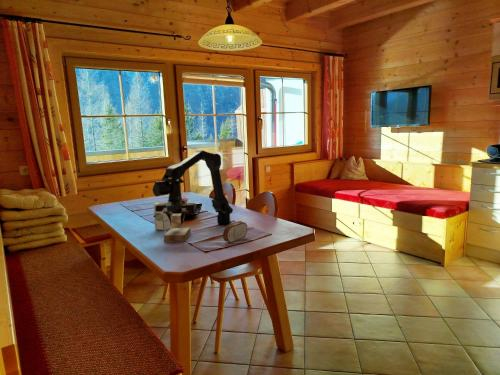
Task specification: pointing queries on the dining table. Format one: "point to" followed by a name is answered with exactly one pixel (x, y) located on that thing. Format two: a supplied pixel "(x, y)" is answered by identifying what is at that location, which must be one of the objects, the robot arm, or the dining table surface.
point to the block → (176, 221)
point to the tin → (235, 231)
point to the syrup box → (161, 219)
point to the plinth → (177, 235)
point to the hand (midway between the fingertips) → (177, 224)
